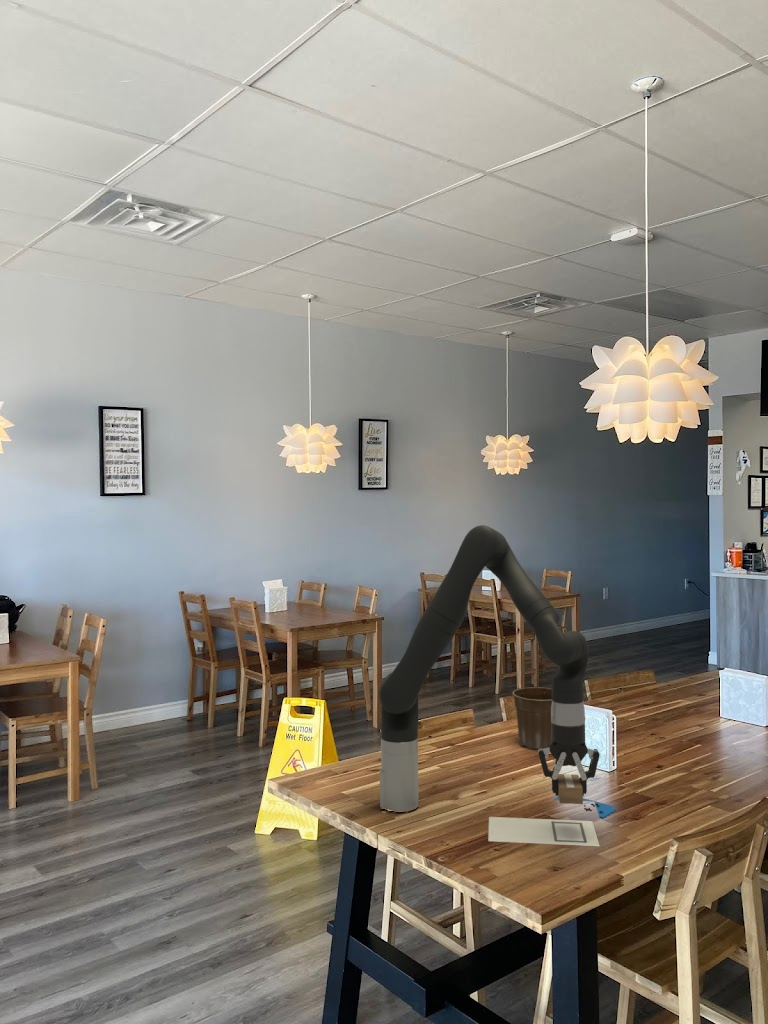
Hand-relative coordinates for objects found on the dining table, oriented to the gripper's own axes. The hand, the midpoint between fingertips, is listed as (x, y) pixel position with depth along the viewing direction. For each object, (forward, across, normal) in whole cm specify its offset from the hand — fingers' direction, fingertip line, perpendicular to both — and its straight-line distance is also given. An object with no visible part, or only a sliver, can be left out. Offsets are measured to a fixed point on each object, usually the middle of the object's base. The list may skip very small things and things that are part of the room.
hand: (569, 794), depth 185 cm
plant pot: (+9, +3, -68) cm, 69 cm away
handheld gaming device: (+10, -5, -17) cm, 20 cm away
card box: (0, 0, 0) cm, 0 cm away
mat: (+9, +6, 0) cm, 11 cm away
